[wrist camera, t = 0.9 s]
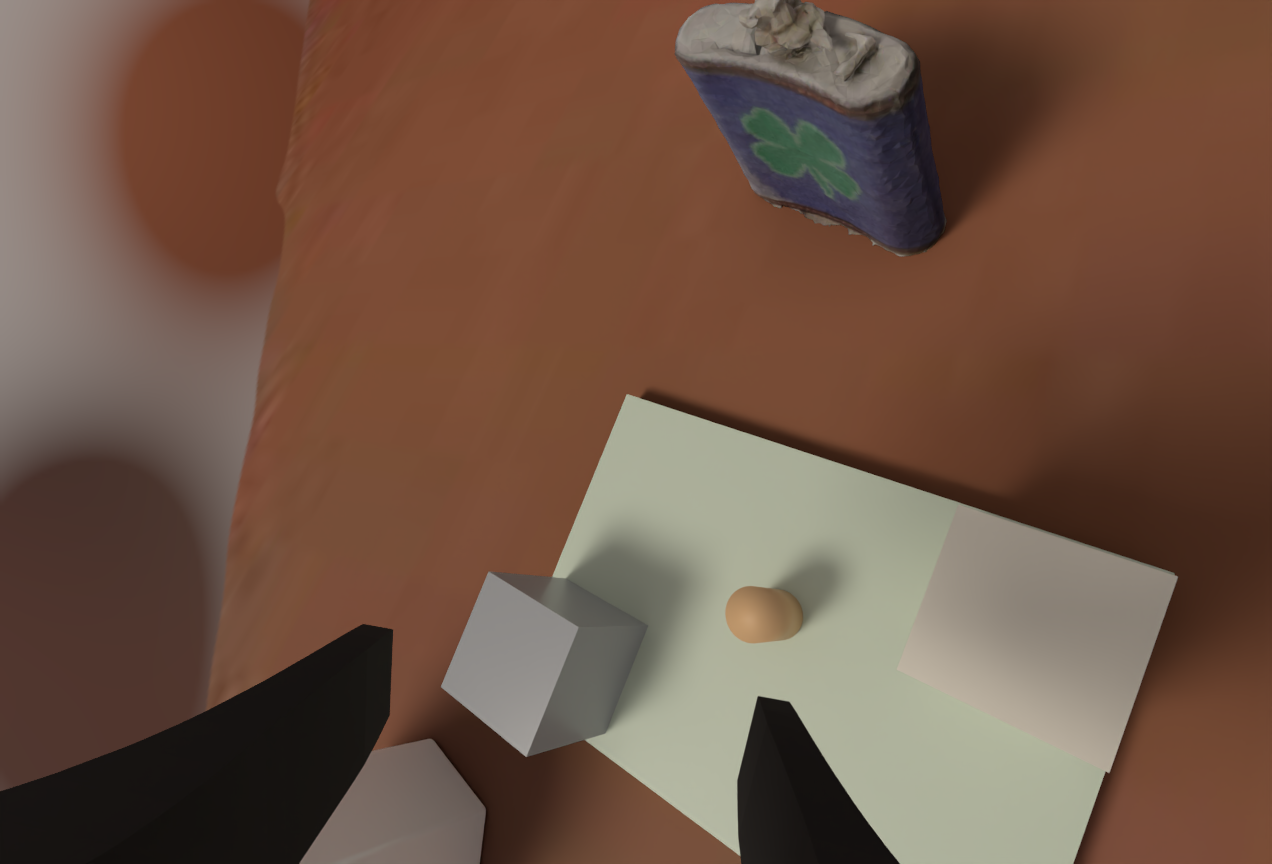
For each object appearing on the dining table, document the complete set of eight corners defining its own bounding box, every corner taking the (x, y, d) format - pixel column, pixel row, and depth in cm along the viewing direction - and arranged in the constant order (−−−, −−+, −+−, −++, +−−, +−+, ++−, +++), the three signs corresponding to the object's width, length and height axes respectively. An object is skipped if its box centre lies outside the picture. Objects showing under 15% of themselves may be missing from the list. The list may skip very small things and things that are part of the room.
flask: (743, 195, 30) (633, 10, 21) (780, 142, 29) (685, -69, 20) (921, 269, 25) (880, 69, 16) (967, 206, 24) (952, -35, 15)
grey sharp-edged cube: (648, 625, 25) (578, 627, 21) (605, 733, 25) (526, 756, 21) (565, 578, 28) (488, 571, 24) (525, 676, 28) (441, 686, 23)
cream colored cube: (1137, 585, 18) (1178, 576, 14) (1083, 736, 18) (1109, 773, 14) (966, 527, 21) (958, 504, 16) (917, 658, 20) (896, 669, 16)
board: (1167, 575, 19) (1203, 565, 15) (1006, 1034, 18) (1007, 1129, 15) (637, 400, 30) (591, 372, 26) (523, 681, 29) (460, 689, 25)
